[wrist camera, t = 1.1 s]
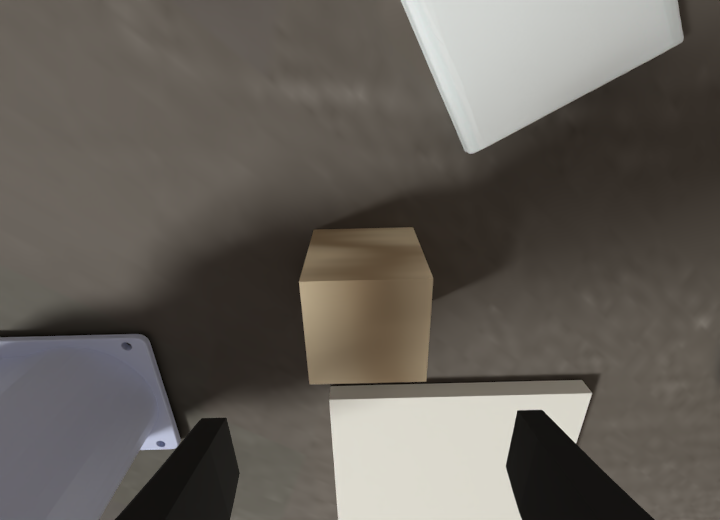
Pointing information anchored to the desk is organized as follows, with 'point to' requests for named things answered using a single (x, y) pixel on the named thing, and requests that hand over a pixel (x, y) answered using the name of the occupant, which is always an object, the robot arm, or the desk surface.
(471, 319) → the desk surface
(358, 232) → the oak block
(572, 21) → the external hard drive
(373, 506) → the board
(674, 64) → the desk surface
